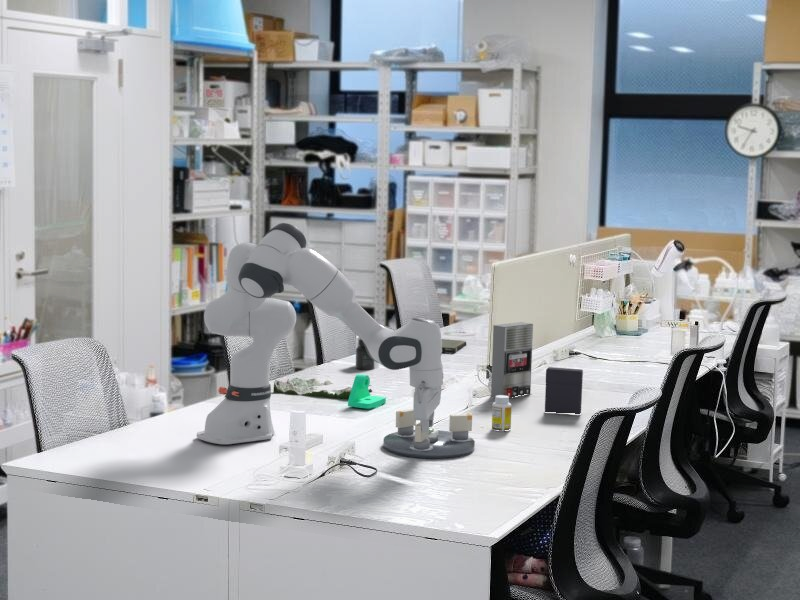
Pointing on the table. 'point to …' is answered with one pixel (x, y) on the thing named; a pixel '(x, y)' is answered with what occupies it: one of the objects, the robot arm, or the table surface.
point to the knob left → (420, 438)
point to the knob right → (460, 426)
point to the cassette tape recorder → (511, 359)
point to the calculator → (563, 390)
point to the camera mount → (363, 394)
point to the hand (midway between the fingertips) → (427, 429)
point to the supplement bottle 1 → (363, 358)
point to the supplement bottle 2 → (501, 413)
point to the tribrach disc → (439, 445)
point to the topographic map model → (310, 389)
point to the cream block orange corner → (405, 422)
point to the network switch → (452, 346)
